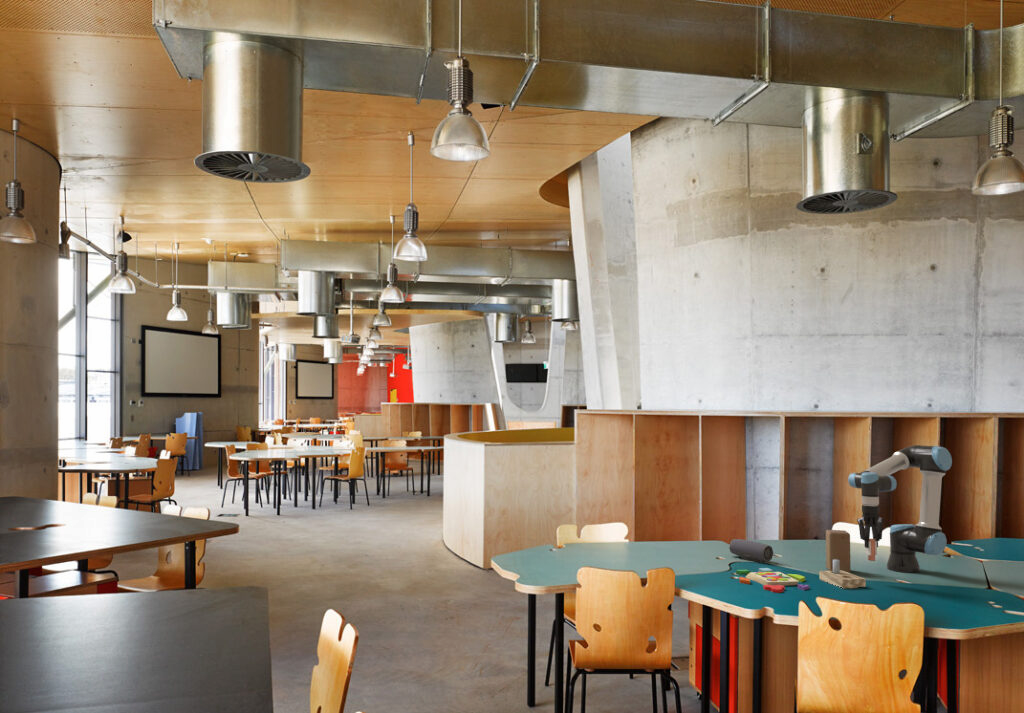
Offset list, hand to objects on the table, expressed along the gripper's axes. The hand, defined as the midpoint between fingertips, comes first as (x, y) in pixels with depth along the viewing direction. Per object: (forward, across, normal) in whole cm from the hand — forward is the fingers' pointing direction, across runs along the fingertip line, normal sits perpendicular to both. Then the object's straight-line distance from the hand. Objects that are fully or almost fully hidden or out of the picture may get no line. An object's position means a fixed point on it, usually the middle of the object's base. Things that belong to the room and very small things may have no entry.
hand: (871, 554), depth 362 cm
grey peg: (+13, +15, -5) cm, 21 cm away
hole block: (+13, +15, -1) cm, 20 cm away
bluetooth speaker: (+14, +31, -58) cm, 67 cm away
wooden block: (+14, 0, -26) cm, 29 cm away
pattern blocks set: (+14, +46, -10) cm, 49 cm away
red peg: (+3, 0, 0) cm, 3 cm away
